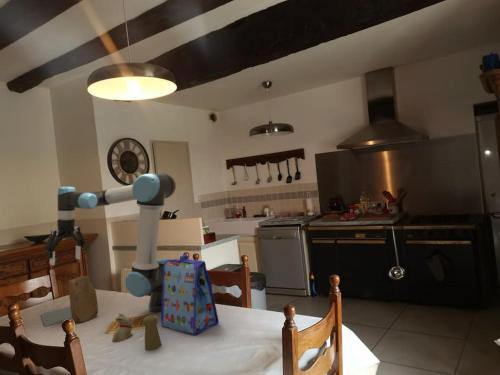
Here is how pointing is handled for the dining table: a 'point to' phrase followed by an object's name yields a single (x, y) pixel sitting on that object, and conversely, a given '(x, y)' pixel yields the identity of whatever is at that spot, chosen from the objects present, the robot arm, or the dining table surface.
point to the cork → (151, 333)
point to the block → (82, 299)
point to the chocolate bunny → (122, 328)
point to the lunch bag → (187, 296)
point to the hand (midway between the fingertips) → (65, 261)
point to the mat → (56, 316)
